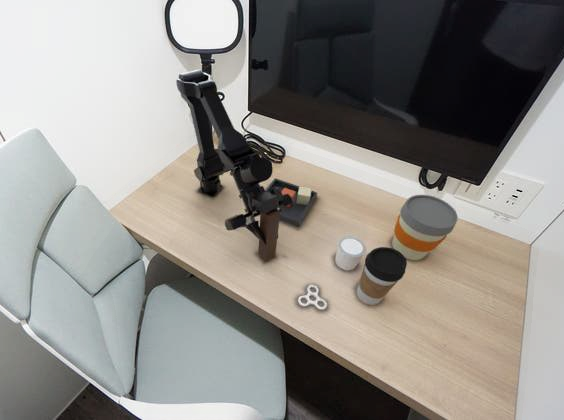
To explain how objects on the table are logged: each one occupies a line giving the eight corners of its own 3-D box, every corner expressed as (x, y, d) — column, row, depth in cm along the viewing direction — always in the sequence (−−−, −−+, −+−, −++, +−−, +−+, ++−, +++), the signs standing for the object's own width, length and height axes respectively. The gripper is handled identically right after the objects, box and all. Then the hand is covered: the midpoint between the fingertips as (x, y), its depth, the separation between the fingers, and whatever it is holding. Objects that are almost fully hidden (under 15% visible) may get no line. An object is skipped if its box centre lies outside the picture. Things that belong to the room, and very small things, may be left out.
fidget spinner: (297, 305, 78) (297, 304, 77) (299, 283, 82) (299, 282, 82) (326, 311, 77) (327, 309, 76) (326, 288, 81) (327, 286, 80)
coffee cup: (391, 309, 77) (415, 275, 66) (356, 309, 77) (374, 275, 66) (380, 280, 83) (400, 244, 72) (347, 280, 83) (363, 244, 72)
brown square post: (257, 253, 90) (260, 209, 77) (267, 248, 91) (272, 203, 78) (264, 262, 88) (268, 217, 75) (275, 256, 89) (280, 212, 76)
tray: (253, 210, 102) (253, 204, 100) (274, 183, 112) (274, 178, 110) (298, 228, 96) (299, 222, 94) (316, 198, 106) (317, 192, 104)
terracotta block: (278, 203, 103) (279, 194, 101) (283, 196, 106) (284, 187, 103) (289, 207, 102) (290, 198, 99) (294, 200, 104) (295, 191, 101)
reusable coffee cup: (436, 241, 91) (461, 204, 81) (428, 272, 84) (455, 236, 73) (391, 225, 96) (409, 188, 86) (380, 253, 89) (399, 216, 78)
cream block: (296, 203, 103) (297, 194, 100) (297, 195, 106) (299, 186, 103) (308, 205, 102) (310, 196, 100) (309, 197, 105) (311, 188, 102)
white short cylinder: (341, 248, 90) (347, 232, 86) (363, 261, 87) (370, 245, 82) (328, 262, 87) (333, 246, 82) (350, 276, 84) (357, 261, 79)
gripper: (228, 196, 71) (254, 258, 72) (293, 169, 78) (316, 226, 79) (214, 201, 82) (236, 255, 83) (272, 177, 88) (292, 228, 89)
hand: (271, 241), depth 83 cm, fingers closed on brown square post, 3 cm apart
